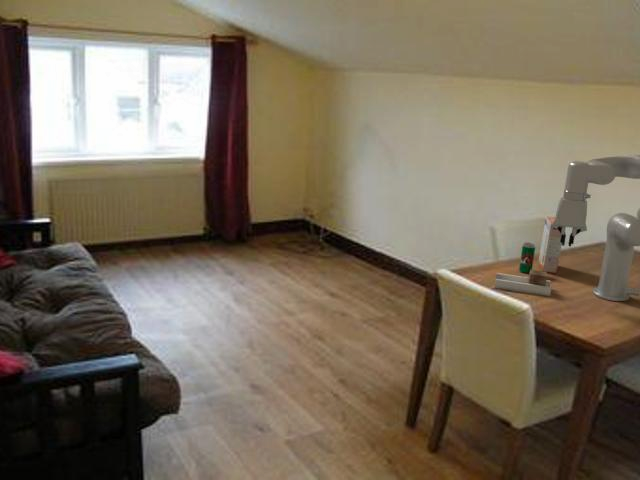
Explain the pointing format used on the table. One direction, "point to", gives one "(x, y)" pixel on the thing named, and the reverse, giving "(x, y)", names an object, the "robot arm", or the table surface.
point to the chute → (521, 284)
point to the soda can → (527, 257)
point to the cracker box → (550, 247)
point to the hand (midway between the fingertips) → (566, 244)
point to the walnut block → (537, 277)
